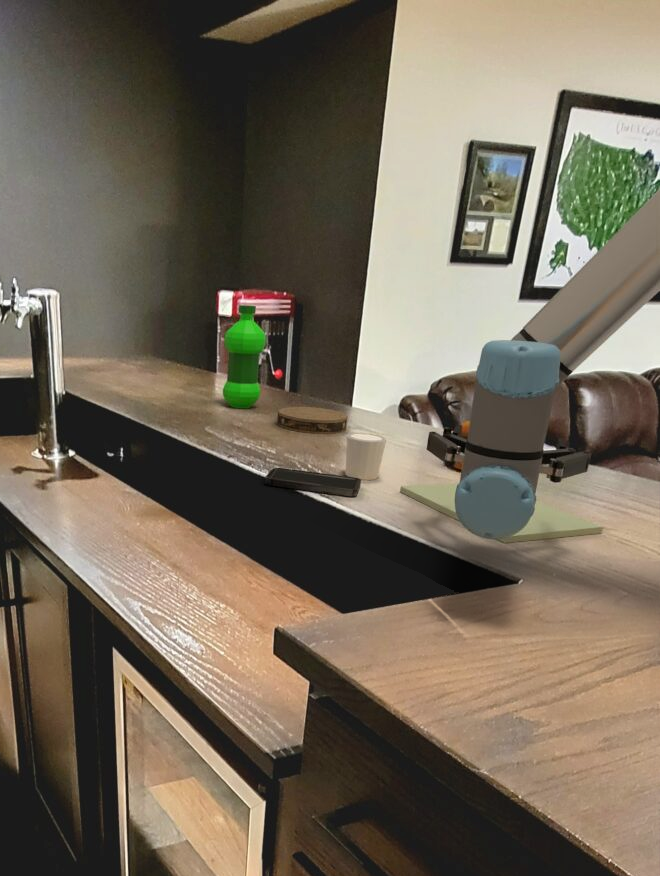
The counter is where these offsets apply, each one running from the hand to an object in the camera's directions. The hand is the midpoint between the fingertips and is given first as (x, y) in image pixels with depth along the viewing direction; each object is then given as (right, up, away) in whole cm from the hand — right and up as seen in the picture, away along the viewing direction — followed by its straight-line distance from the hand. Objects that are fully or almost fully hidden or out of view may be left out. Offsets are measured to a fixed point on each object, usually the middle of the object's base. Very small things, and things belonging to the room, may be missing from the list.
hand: (507, 440), depth 103 cm
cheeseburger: (+7, -2, +34) cm, 35 cm away
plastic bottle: (-35, +17, +83) cm, 92 cm away
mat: (+1, -10, +8) cm, 13 cm away
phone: (-26, -6, +16) cm, 31 cm away
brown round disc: (-19, +10, +64) cm, 67 cm away
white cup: (-16, -4, +24) cm, 29 cm away
